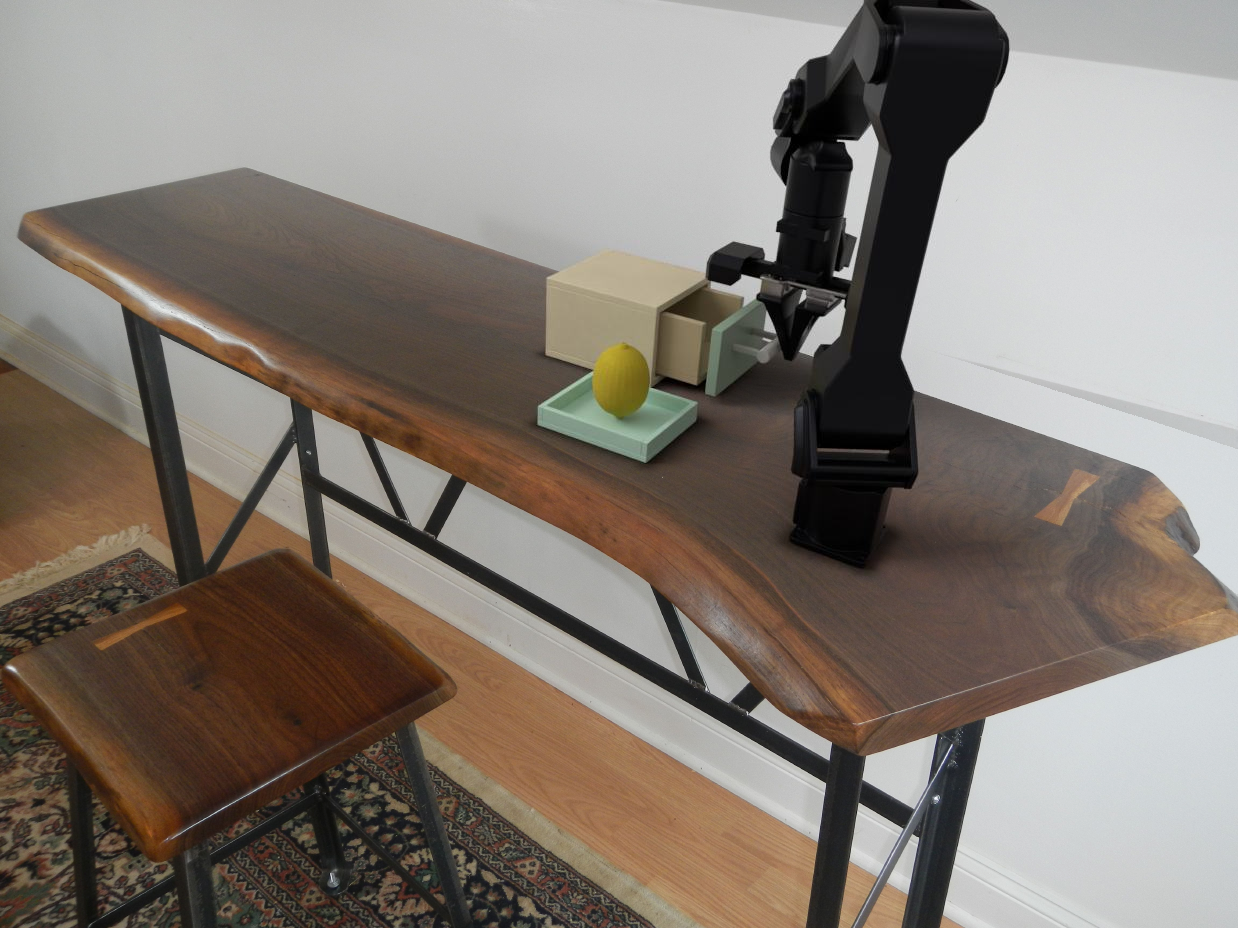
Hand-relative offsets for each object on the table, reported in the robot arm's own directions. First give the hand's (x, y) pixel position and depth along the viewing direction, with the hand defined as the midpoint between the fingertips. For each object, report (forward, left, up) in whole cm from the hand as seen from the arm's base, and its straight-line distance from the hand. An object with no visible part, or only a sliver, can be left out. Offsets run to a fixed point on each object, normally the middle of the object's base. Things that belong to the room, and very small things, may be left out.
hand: (789, 359), depth 98 cm
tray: (+11, +15, -5) cm, 19 cm away
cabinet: (+19, 0, -5) cm, 20 cm away
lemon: (+11, +15, -4) cm, 19 cm away
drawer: (+9, 0, -4) cm, 10 cm away
